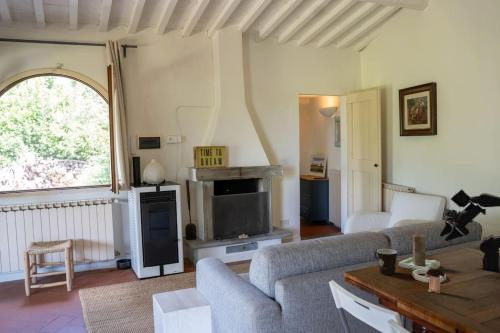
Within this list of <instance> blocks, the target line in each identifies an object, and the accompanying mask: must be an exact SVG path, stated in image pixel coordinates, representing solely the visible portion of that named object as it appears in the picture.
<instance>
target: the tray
mask: <svg viewBox="0 0 500 333" xmlns="http://www.w3.org/2000/svg"><path fill="white" fill-rule="evenodd" d="M432 260H433V259H432ZM432 260H431V259H426V258H425V265H426V266H416V265H414V264H413V256H411V257H409V258H406V259H403V260H400V261H399V262H398V267H399V268H404V269H407V270H411V271H414V270H417V269H430V268H432V266H431V261H432ZM438 262H439V264H440V266H439V267H438V268H440V267H441V262H440V261H438Z"/></svg>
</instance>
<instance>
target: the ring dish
mask: <svg viewBox="0 0 500 333" xmlns="http://www.w3.org/2000/svg"><path fill="white" fill-rule="evenodd" d="M428 270H429V269H417V270H411V271H412V272H411V273H412V277H413V278H414V279H415V280H417V281H419V282H423V283H430V276H428V277H427V278H426V277H425V275H424V274H426V272H427V271H428ZM421 274H422V275H421ZM439 277H440V283H442V282H445V281H446V280H444V279H443V277H442V276H440V275H439ZM445 277H446V278H447V274H445Z"/></svg>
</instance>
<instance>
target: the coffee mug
mask: <svg viewBox="0 0 500 333" xmlns="http://www.w3.org/2000/svg"><path fill="white" fill-rule="evenodd" d="M397 256H398V251H397V250H395V249H390V248H380V249H377V250H375V251H374V257H375V260H376V261H377V263H378V267H379V274H381V275H383V276H394V275H395V274H396V266H397Z"/></svg>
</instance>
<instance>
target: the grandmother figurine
mask: <svg viewBox="0 0 500 333" xmlns="http://www.w3.org/2000/svg"><path fill="white" fill-rule="evenodd" d="M439 262H440V261H438V260H436V259H432V261H431V266H432V268H430V269H429V270H428V271H427V272H426V274H425V275H424V277H426V278H427V277H430V283H429V289H428V290H427V292H429V293H435V294H441V282H440V277H441V276H442V277H443V279H444V280H445V281H447V276H446V277H445V275H446V274H445V272H443V271H442V270H441V269H439V268H440V267H441V263H440V264H439ZM439 266H440V267H439ZM429 275H430V276H429ZM439 275H440V276H439Z"/></svg>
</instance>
